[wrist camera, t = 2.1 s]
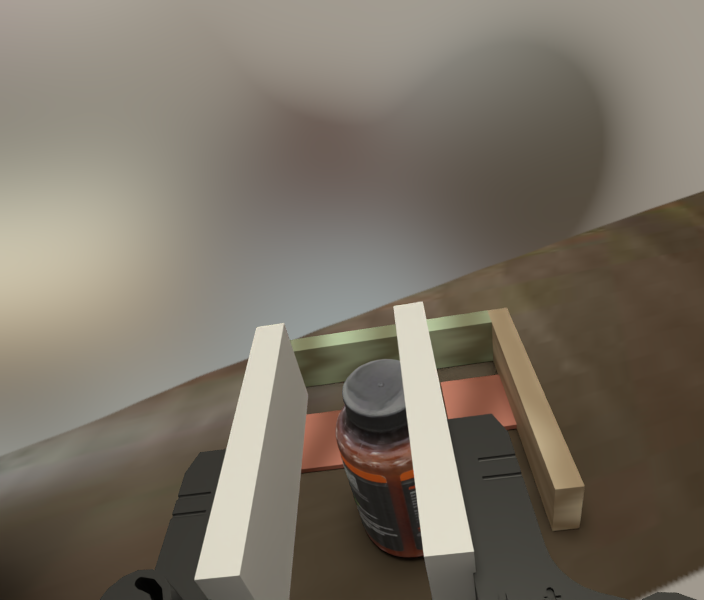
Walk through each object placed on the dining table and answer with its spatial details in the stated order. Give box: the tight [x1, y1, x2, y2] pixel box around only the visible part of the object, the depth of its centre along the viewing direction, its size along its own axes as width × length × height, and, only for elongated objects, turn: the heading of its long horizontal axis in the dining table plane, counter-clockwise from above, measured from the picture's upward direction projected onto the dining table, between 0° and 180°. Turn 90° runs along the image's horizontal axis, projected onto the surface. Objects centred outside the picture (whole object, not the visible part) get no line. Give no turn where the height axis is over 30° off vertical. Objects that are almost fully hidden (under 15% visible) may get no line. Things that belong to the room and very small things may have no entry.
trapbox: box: [290, 308, 585, 531], centre depth 35 cm, size 19×16×4 cm
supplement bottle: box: [336, 359, 424, 557], centre depth 28 cm, size 6×6×11 cm
